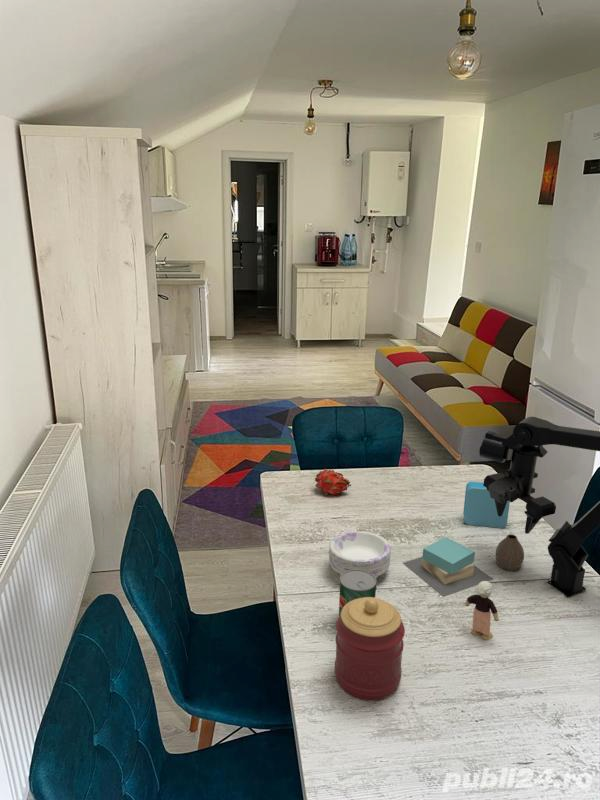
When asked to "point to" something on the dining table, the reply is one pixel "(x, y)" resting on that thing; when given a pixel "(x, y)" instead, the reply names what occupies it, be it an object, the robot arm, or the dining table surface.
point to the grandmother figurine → (482, 610)
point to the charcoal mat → (452, 587)
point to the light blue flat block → (482, 507)
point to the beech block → (447, 577)
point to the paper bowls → (359, 553)
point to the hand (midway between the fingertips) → (513, 524)
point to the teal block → (448, 555)
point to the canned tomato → (356, 586)
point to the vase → (509, 553)
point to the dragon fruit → (331, 482)
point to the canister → (369, 648)
